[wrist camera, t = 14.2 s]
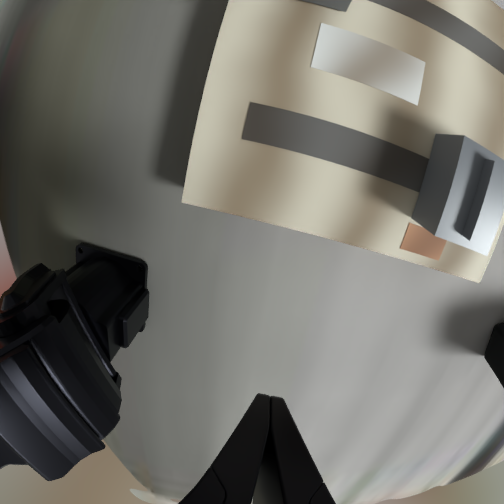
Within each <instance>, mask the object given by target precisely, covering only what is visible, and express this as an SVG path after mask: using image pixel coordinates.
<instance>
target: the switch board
mask: <svg viewBox="0 0 504 504" xmlns="http://www.w3.org/2000/svg"><path fill="white" fill-rule="evenodd" d="M435 134H452V135H465V136H466V137H468V138H470V139H472V140H473V141H475V142H477V143H478V144H480V145H481V146H483V147H485V148H486V149H488V150H489V151H491V152H492V153H494V154H496V155H497V156H499V157H500V158H502V159H503V160H504V10H503V9H502V8H501V7H499V6H498V5H497V4H495V3H494V2H493V1H491V0H352V1H351V3H350V5H349V7H348V9H347V11H346V12H343V11H340V10H337V9H333V8H330V7H326V6H322V5H318V4H314V3H310V2H306V1H301V0H229V2H228V5H227V8H226V11H225V15H224V18H223V21H222V24H221V28H220V31H219V35H218V38H217V42H216V45H215V49H214V52H213V56H212V60H211V64H210V68H209V71H208V75H207V79H206V83H205V88H204V92H203V96H202V100H201V105H200V109H199V113H198V118H197V123H196V127H195V132H194V137H193V142H192V147H191V152H190V157H189V163H188V168H187V174H186V179H185V185H184V191H183V197H182V203H186V204H191V205H195V206H199V207H204V208H208V209H212V210H216V211H221V212H225V213H229V214H233V215H237V216H241V217H246V218H250V219H254V220H258V221H262V222H266V223H270V224H274V225H278V226H282V227H285V228H289V229H293V230H297V231H301V232H305V233H309V234H312V235H316V236H320V237H324V238H327V239H331V240H335V241H338V242H342V243H346V244H349V245H353V246H357V247H360V248H364V249H367V250H371V251H374V252H378V253H381V254H385V255H388V256H392V257H395V258H399V259H402V260H406V261H409V262H412V263H416V264H419V265H422V266H426V267H429V268H432V269H436V270H439V271H442V272H445V273H449V274H452V275H455V276H458V277H461V278H464V279H468V280H471V281H474V282H477V283H480V281H481V279H482V277H483V274H484V272H485V270H486V268H487V265H488V263H489V261H490V258H491V256H492V254H493V251H494V249H495V246H496V243H497V241H498V238H499V235H500V233H501V230H502V227H503V224H504V212H503V215H502V218H501V221H500V224H499V227H498V230H497V233H496V235H495V238H494V241H493V243H492V246H491V248H490V251H489V253H488V256H485V255H483V254H481V253H478V252H476V251H473V250H471V249H468V248H466V247H463V246H460V245H458V244H455V243H453V242H450V241H447V240H445V239H442V238H439V237H436V236H434V235H433V234H432V233H430V232H429V231H428V230H426V229H425V228H424V227H422V226H421V225H420V224H418V223H417V222H416V221H414V220H413V219H411V216H412V213H413V211H414V208H415V205H416V202H417V198H418V195H419V192H420V189H421V186H422V182H423V179H424V176H425V172H426V169H427V165H428V161H429V158H430V154H431V150H432V146H433V142H434V138H435Z"/></svg>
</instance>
